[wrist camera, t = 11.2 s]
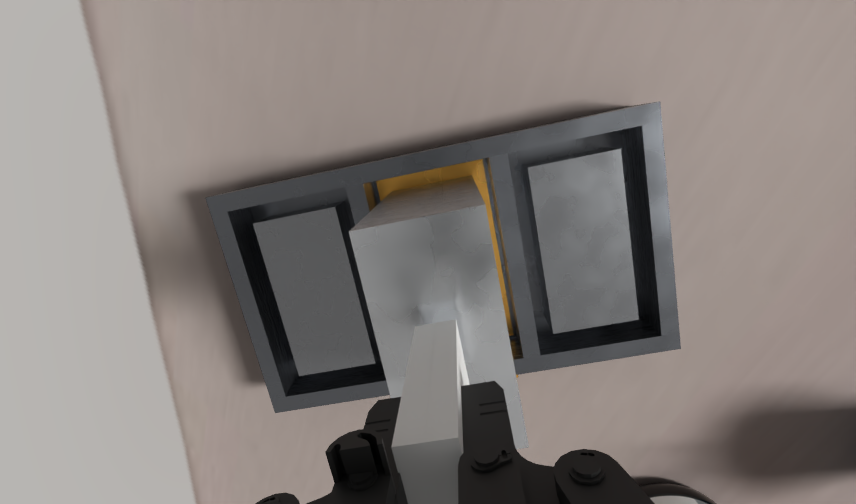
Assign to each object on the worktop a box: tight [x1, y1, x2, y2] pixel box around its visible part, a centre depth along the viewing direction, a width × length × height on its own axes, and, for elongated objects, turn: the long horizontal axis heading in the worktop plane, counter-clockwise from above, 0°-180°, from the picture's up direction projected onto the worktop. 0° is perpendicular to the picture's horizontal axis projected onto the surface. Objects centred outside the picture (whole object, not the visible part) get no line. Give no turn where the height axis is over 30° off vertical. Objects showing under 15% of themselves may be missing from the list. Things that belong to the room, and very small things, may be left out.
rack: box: [206, 102, 681, 413], centre depth 28 cm, size 14×25×4 cm, turn 102°
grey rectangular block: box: [349, 175, 529, 449], centre depth 23 cm, size 10×5×12 cm, turn 12°
